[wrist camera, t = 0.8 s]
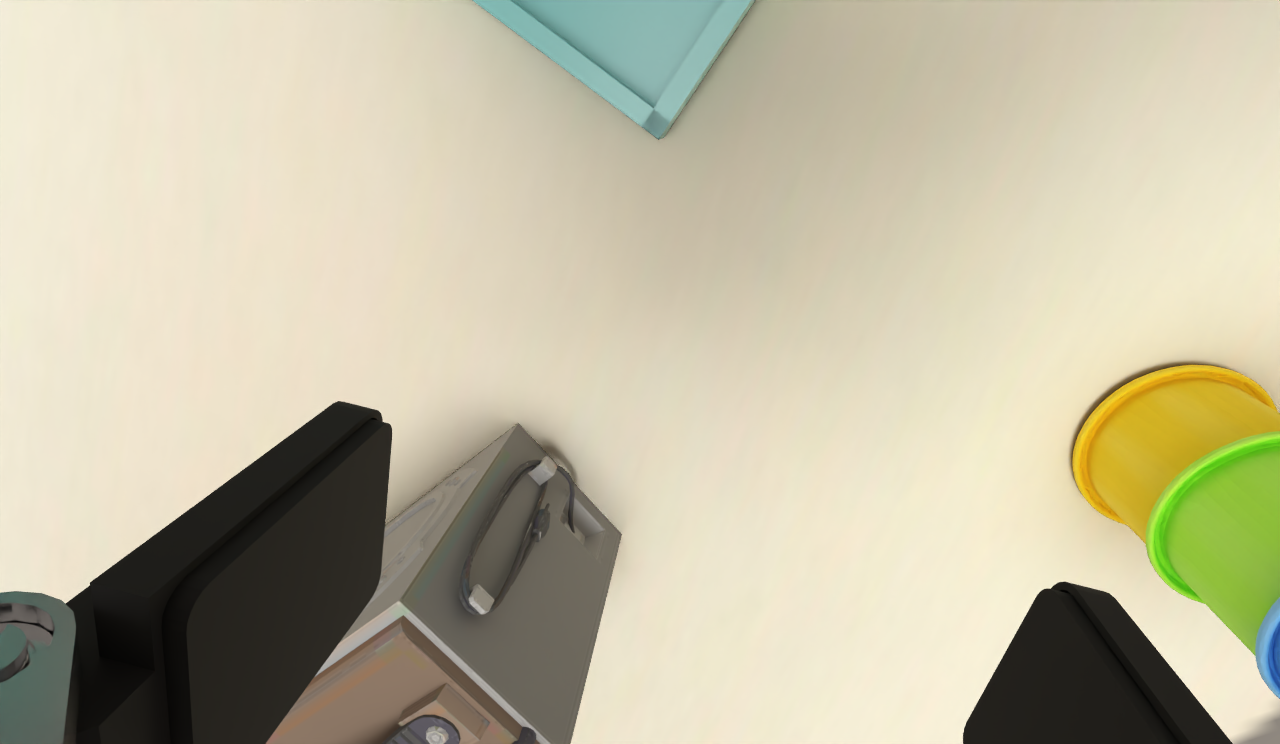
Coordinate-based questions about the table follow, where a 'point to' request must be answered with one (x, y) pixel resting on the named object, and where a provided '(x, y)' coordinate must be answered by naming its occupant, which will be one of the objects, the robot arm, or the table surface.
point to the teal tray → (629, 47)
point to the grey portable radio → (472, 614)
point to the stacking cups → (1196, 491)
